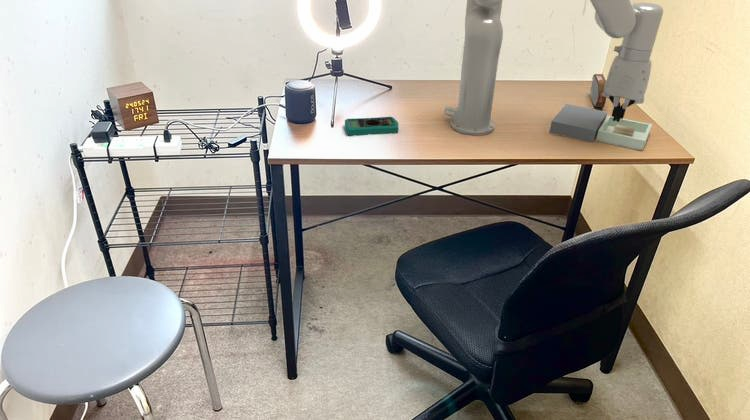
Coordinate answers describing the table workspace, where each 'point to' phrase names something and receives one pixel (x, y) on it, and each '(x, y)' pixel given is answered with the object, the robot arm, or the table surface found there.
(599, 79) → the tin
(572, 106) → the plate
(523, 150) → the table surface
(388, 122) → the digital multimeter
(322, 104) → the table surface
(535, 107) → the table surface
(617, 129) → the block
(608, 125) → the box
